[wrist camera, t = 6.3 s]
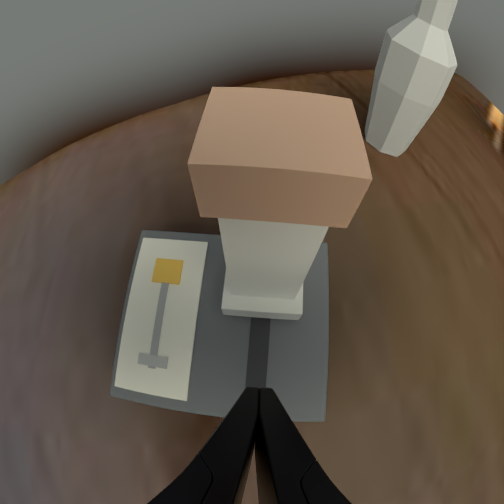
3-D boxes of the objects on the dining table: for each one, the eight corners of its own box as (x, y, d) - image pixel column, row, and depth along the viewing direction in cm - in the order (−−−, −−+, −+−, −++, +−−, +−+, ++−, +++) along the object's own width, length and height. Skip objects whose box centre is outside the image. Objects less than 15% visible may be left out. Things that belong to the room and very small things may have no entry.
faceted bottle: (407, 172, 24) (500, -38, 4) (347, 141, 25) (404, -82, 5) (416, 138, 26) (486, -35, 6) (365, 112, 28) (412, -69, 8)
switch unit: (312, 416, 15) (326, 421, 12) (130, 395, 16) (107, 395, 13) (317, 264, 20) (328, 241, 17) (155, 251, 20) (140, 227, 17)
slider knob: (298, 320, 15) (376, 198, 5) (223, 314, 15) (181, 182, 5) (299, 249, 16) (348, 90, 7) (231, 244, 16) (215, 78, 7)
